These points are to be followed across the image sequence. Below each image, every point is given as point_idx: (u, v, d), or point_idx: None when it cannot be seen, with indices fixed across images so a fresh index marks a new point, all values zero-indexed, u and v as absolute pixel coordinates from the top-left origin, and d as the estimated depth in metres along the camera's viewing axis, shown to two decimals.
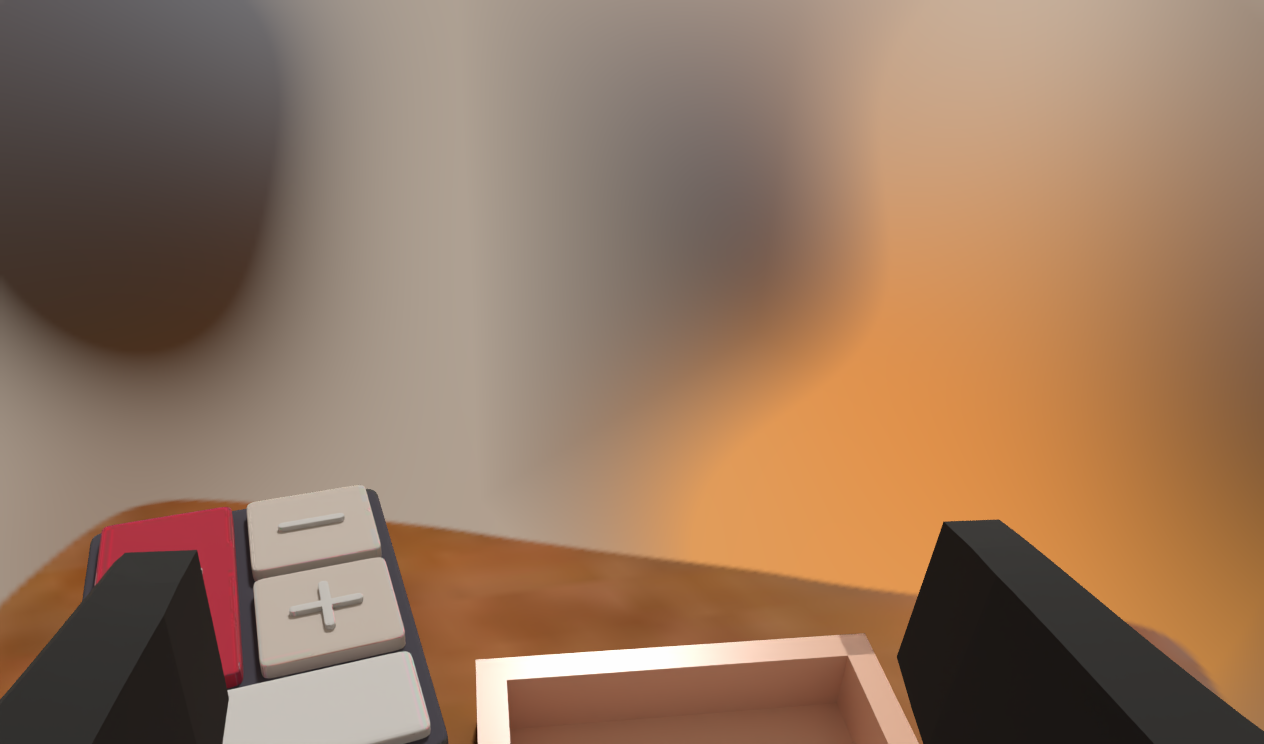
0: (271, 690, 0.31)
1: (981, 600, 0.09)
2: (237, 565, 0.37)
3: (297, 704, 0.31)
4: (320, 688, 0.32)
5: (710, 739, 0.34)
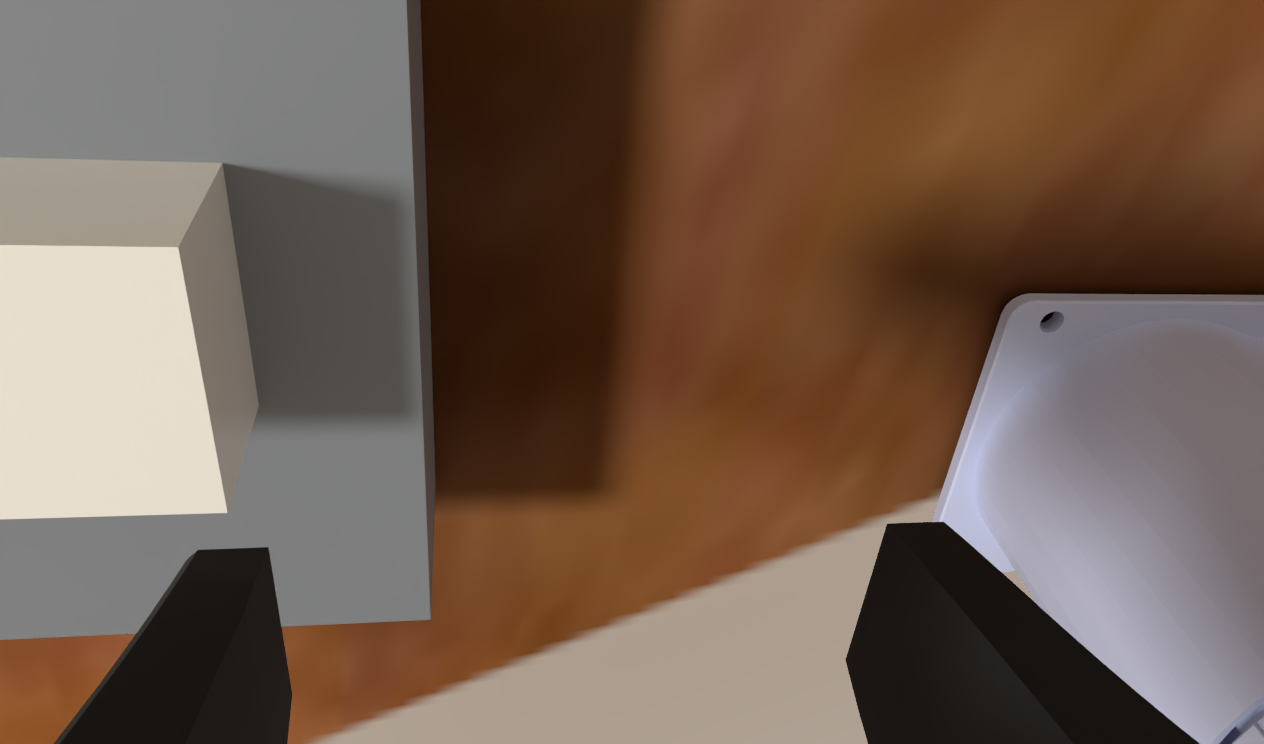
0: None
1: (921, 603, 0.09)
2: None
3: None
4: None
5: None
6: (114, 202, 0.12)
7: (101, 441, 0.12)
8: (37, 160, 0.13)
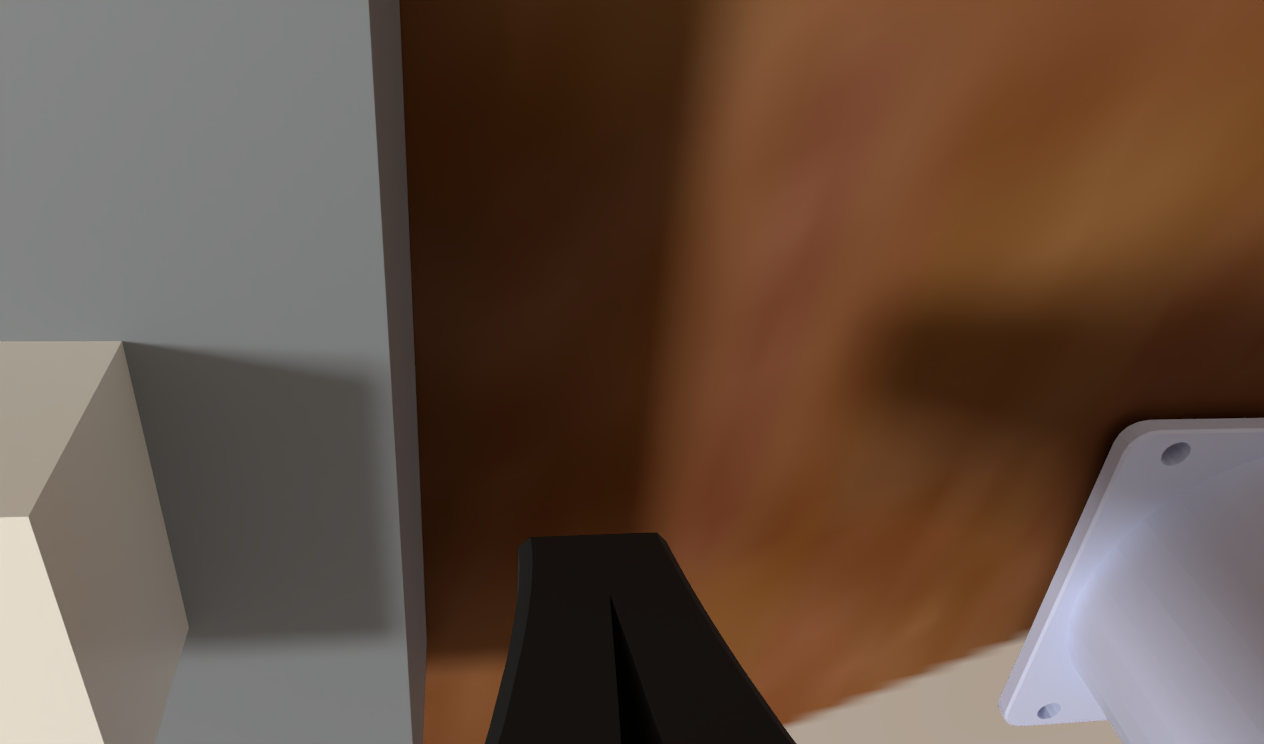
0: None
1: None
2: None
3: None
4: None
5: None
6: None
7: None
8: None
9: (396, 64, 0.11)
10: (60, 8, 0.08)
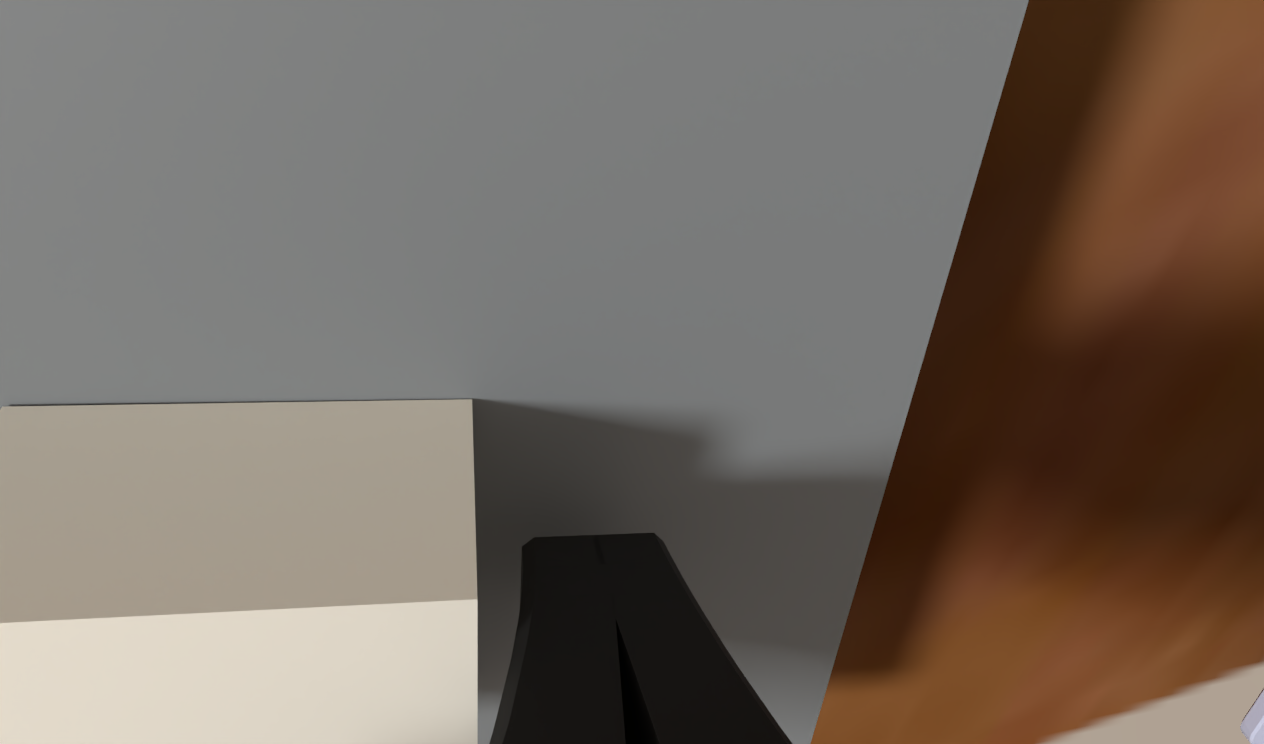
0: None
1: None
2: None
3: None
4: None
5: None
6: (349, 496, 0.08)
7: None
8: (214, 408, 0.09)
9: None
10: (727, 74, 0.08)
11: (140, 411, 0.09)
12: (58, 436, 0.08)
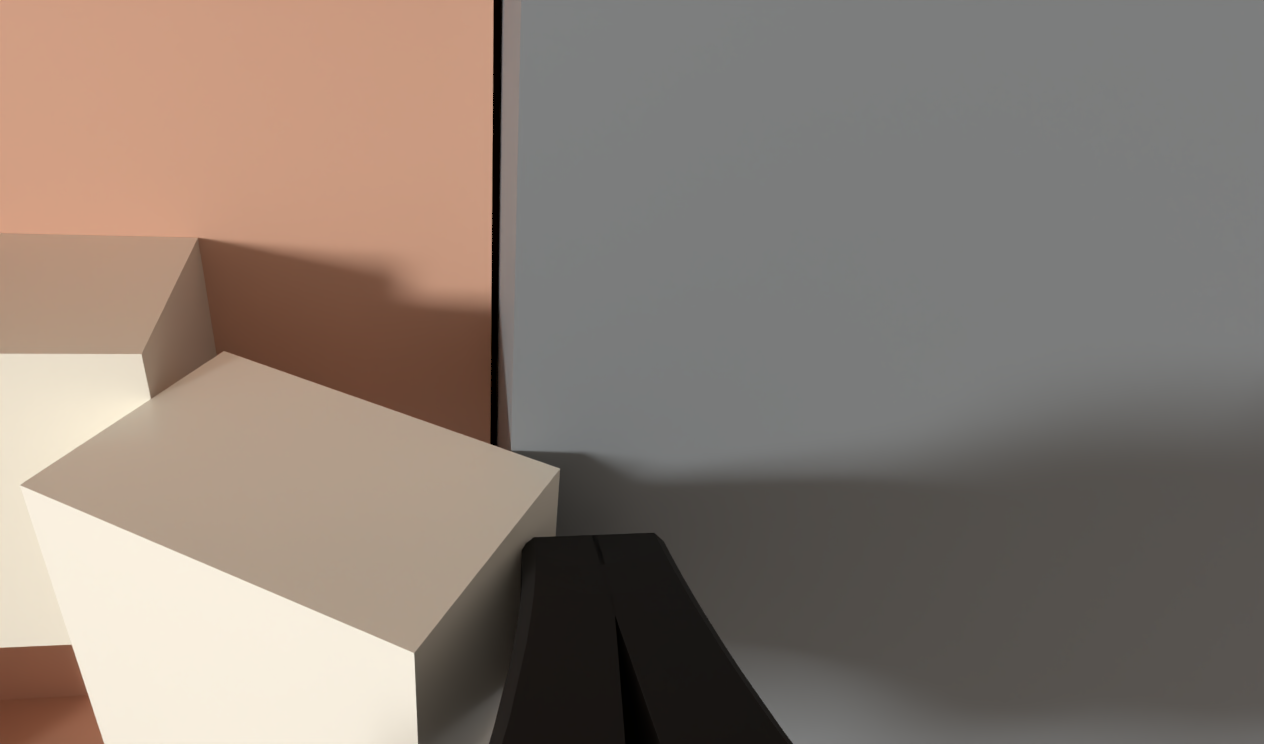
0: None
1: None
2: None
3: None
4: None
5: None
6: (392, 517, 0.09)
7: None
8: (356, 403, 0.10)
9: None
10: None
11: (309, 387, 0.10)
12: (238, 387, 0.10)
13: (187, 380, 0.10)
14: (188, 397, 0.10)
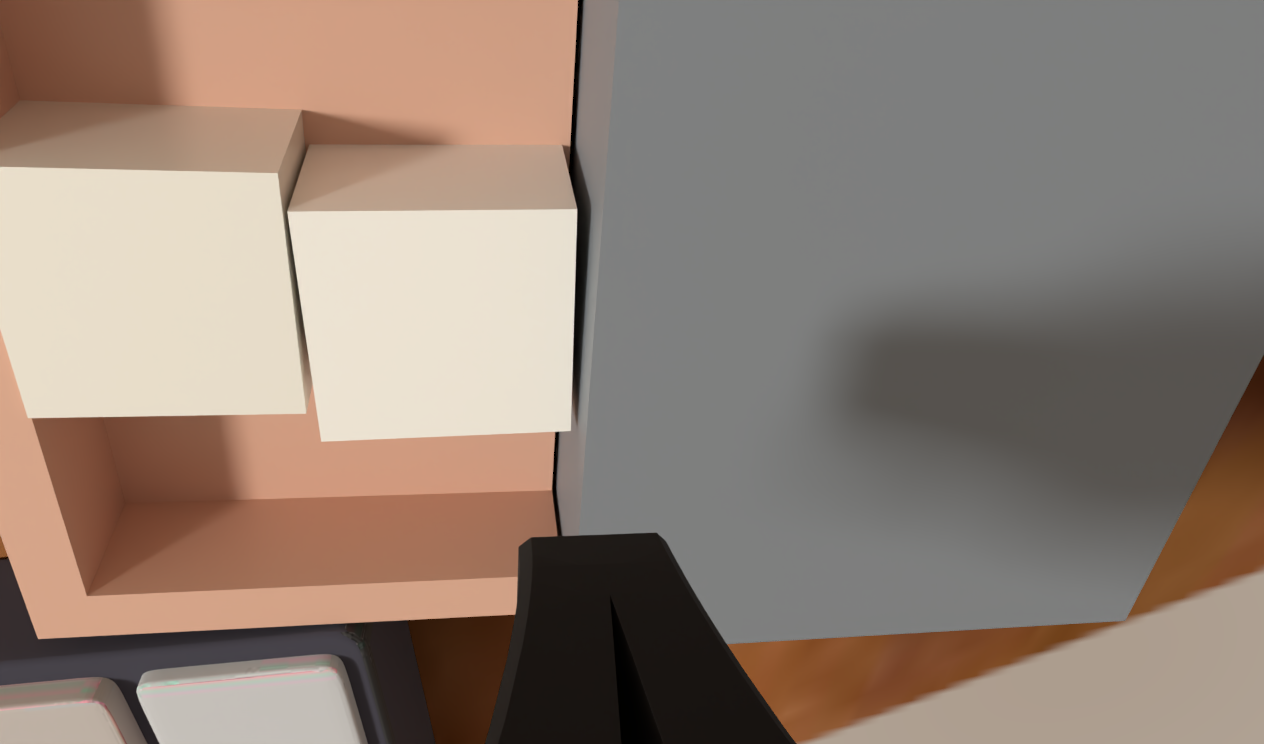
0: None
1: None
2: None
3: None
4: None
5: None
6: (504, 176, 0.15)
7: (487, 371, 0.15)
8: (421, 146, 0.16)
9: None
10: None
11: (381, 149, 0.16)
12: (344, 155, 0.15)
13: (305, 161, 0.15)
14: (323, 163, 0.15)
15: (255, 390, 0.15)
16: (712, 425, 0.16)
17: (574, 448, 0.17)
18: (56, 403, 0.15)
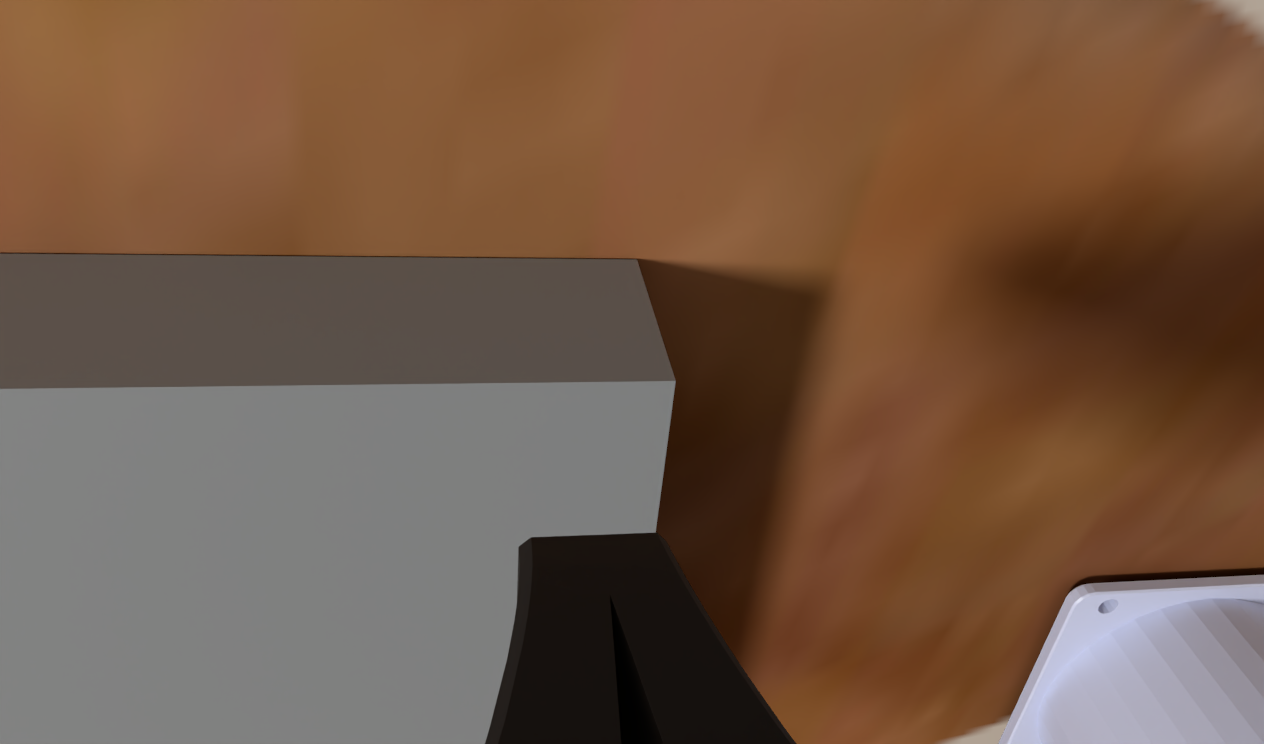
0: None
1: None
2: None
3: None
4: None
5: None
6: None
7: None
8: None
9: None
10: (517, 480, 0.16)
11: None
12: None
13: None
14: None
15: None
16: None
17: None
18: None
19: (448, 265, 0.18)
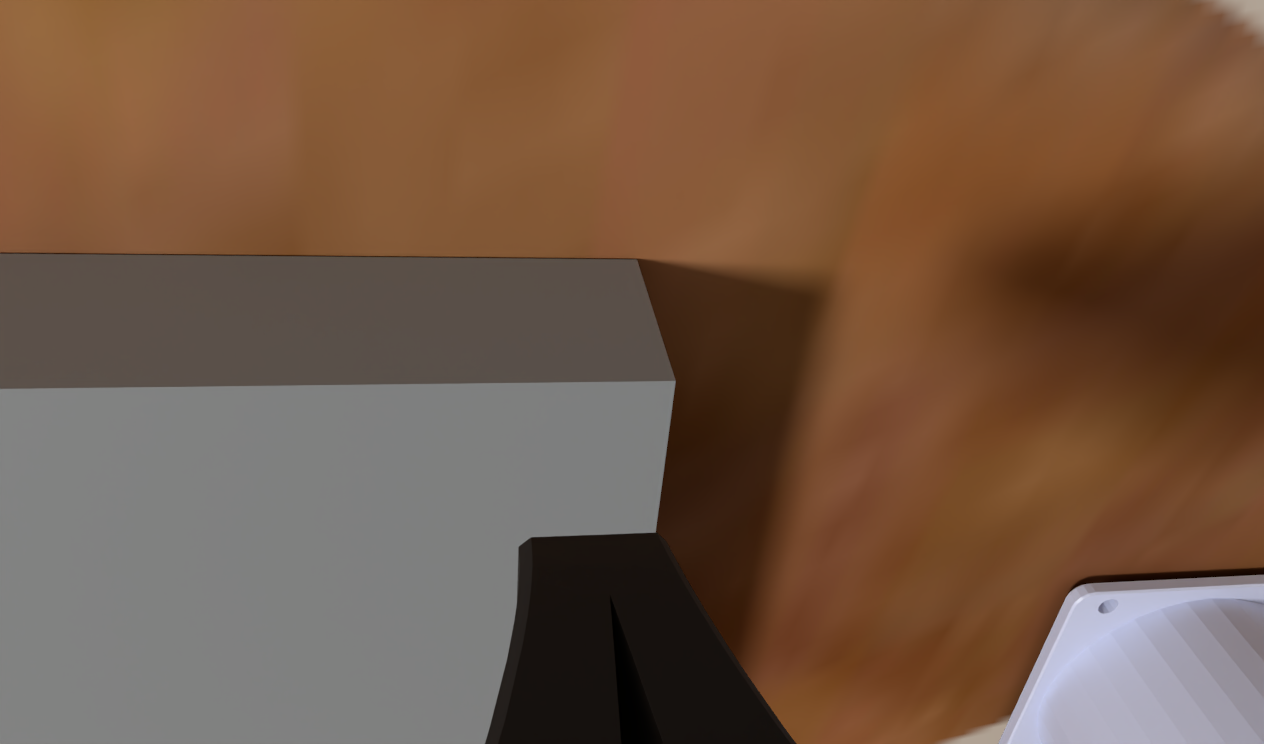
0: None
1: None
2: None
3: None
4: None
5: None
6: None
7: None
8: None
9: None
10: (517, 480, 0.16)
11: None
12: None
13: None
14: None
15: None
16: None
17: None
18: None
19: (448, 265, 0.18)
